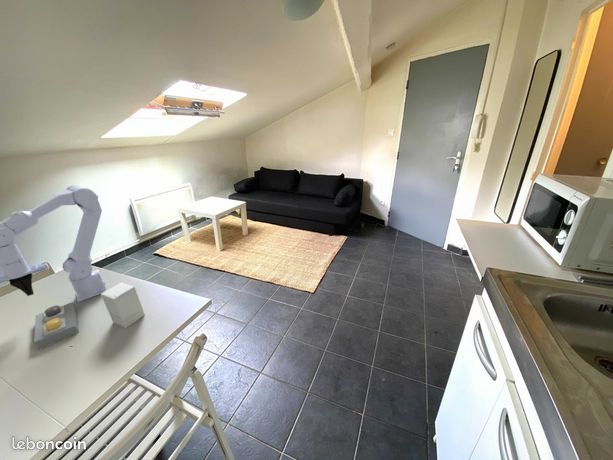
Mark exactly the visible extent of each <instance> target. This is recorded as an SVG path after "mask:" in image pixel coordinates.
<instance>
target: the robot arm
mask: <svg viewBox="0 0 613 460" xmlns="http://www.w3.org/2000/svg"><path fill="white" fill-rule="evenodd" d="M63 206H77V207H78V208H79V209H80V210H82V212H83V213H82V218H81V220H80V223H79V228H78V230H77V235H76V238H75V242H74V246H73V248H72V251H71V252H70V253H68V257H67V258H66V259H65V260H64V261H63V263H62V269H63V270H64V271H65V272H66V273H68V279H69V281H70V284H71V286H72V288H73V289H74V292H75V296H76V302H77V303H80V302H83V301H85V300H88V299H91V298H93V297H97V296H99V295H101V293H103V292H105V291H107V290H108V289H107V288H106V283H105V280H103V278H102V276H101V273H100V270H99V269H95V270H93V267H92V256H91V251H92V248H93V245H94V241H95V237H96V234H97V229H98V227H99V226H98V225H99V223H100V221H101V220H100V218H101V215H102V213H103V212H102V211H103V210H102V208H101V205H100V202H99V196H98V195H97V194H96V193H95V192H94V190H92V189H90V188H87V187H83V186H80V185H76V184H75V185H70V186H67V187H66V188H64V189H61V190H60V191H58V192H57V193H56V194H54V195H52V196H50V197H49V198H47V199H46V200H44V201H43V202H41V203H39V204H38V205H36V206H35V207H33V208H32V209H29V210H20V211H14V212H11V213H10V214H11V215H10V216H9V217H7V218H5V219H3V220H2V221H0V269H1V270H2V272H3V273H2V274H0V284H1V283H5V282H9V285H11V286H12V287H14V288H16V289H19V290H20V291H22V292H23V293H24V294H26V296H27V297H29V296H32V295H34V290H33V289H34V288H33V285H32V284H33V282H32V281H33V280H32V279H33V274H36V273H39V272H43V271H49V270H50V266H49V265H48V263H47V262H45V263H41V264H36V265H28V263H27V261H26V259H25V258H24V256H23V254H22V252H21V251H20V249H19V247H18V245H16V243H15V242H14V239H15V237H18V236H19V235H21V234H23V233H24V232H26V231H28V230H29V229H31V228H33V227H34V226H36V225H38V223H39V222H38V221H39V219H40V218H42V217H44V216H45V215H48V214H49V213H51V212H53V211H55V210H57V209H59V208H61V207H63Z"/></svg>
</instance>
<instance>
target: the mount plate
mask: <svg viewBox="0 0 613 460" xmlns="http://www.w3.org/2000/svg"><path fill="white" fill-rule="evenodd" d="M59 306H60V305H59ZM60 308H61V312H60V313H58V314H57V315H54V316H51V317H47V316H46V314H45V313H44V312H41V313H38V314H37V315H35V318H34V320H35V322H34V336H33V337H34V338H33V339H34V340H33V343H34V345H35V346H36V348H37V349H38V350H40V349H42V348H45V347H47V346H50V345H53V344H54V343H57V342H59V341H61V340H62V341H63V339H66V338H68V337H71V336H73V335H75V334H78V333H79V326H78V325H79V324H78V318H77V311H76V307H75V305H74V304H73V302H72V301H71V302H70V303H69V302H68V303H66V304H63V305H61V306H60ZM55 318H60V319H61V321H62V325H61V326H60V327H58V328H56V329H54V330H50V331H48V330H46V328H45V326H44V325H45V323H47V322H48V321H50V320H52V319H55Z"/></svg>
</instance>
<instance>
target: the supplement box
mask: <svg viewBox="0 0 613 460" xmlns="http://www.w3.org/2000/svg"><path fill="white" fill-rule="evenodd" d="M106 290H107V291H105V292H103V293H101V294H100V296H101V298H102V300H103V302H104V306H105V307H106V310H107V311H108V313H109V316H110V318H111V320H112V323H114V324H116V325H119V326H120V327H122V328H125V329H126V328H128V327H130V326H131V325H132V324H134V323H135V322H136V321H138V320H139V319H141V318H142V317H144V316H145V315H146V314H145V311H144V308H143V306H142V304H141V301H140V298H139V296H138V293H137V289H136V288H135V286H134V285H130V284H127V283H125V282H123V281H122V282H118V283H117V284H115V285H114V286H112V287H110V288H108V289H106Z"/></svg>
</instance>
